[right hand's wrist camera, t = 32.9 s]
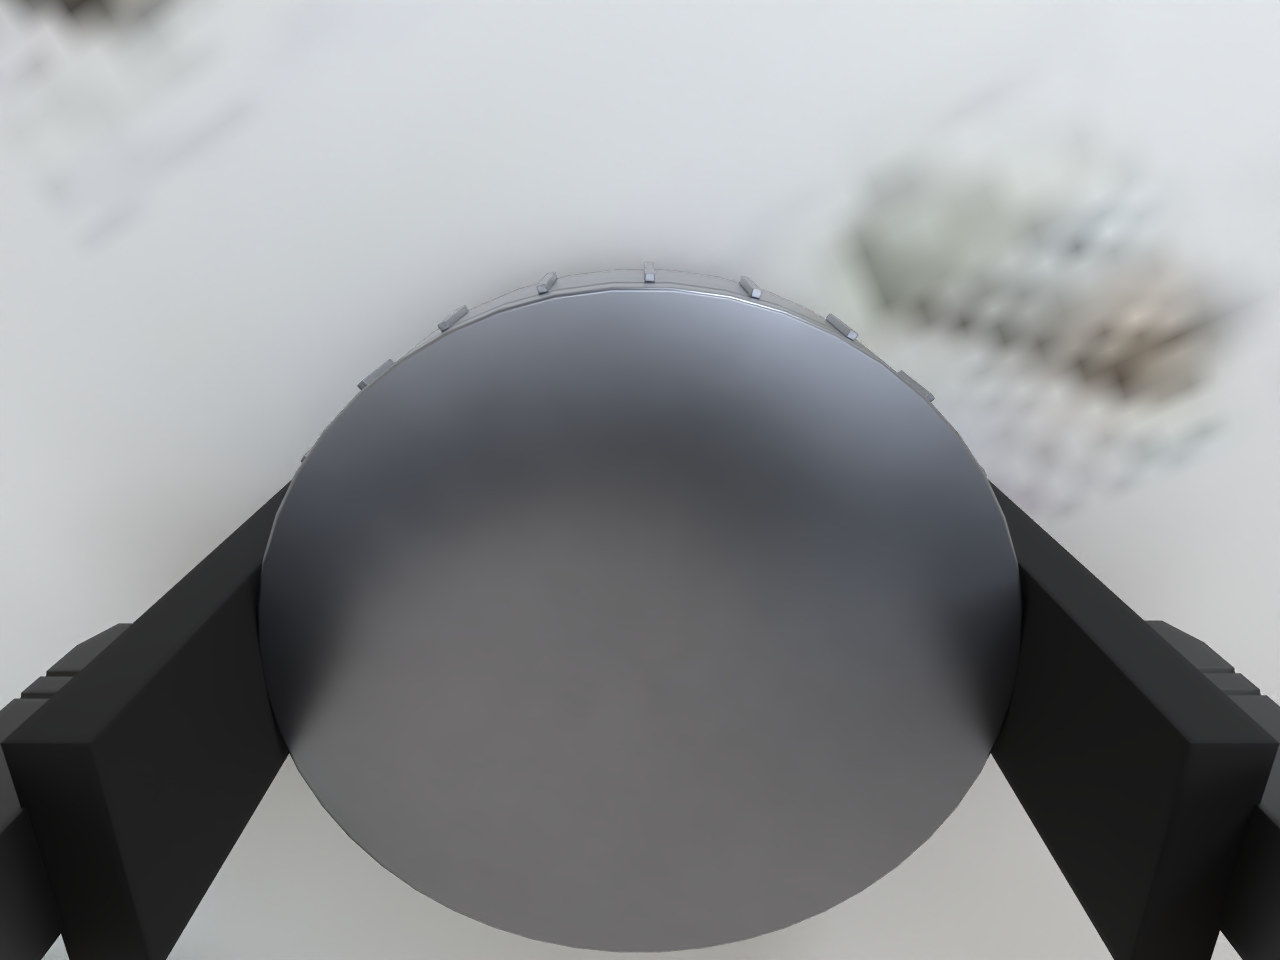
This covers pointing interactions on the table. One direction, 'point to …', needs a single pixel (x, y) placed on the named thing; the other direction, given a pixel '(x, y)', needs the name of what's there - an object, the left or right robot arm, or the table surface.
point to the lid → (640, 613)
